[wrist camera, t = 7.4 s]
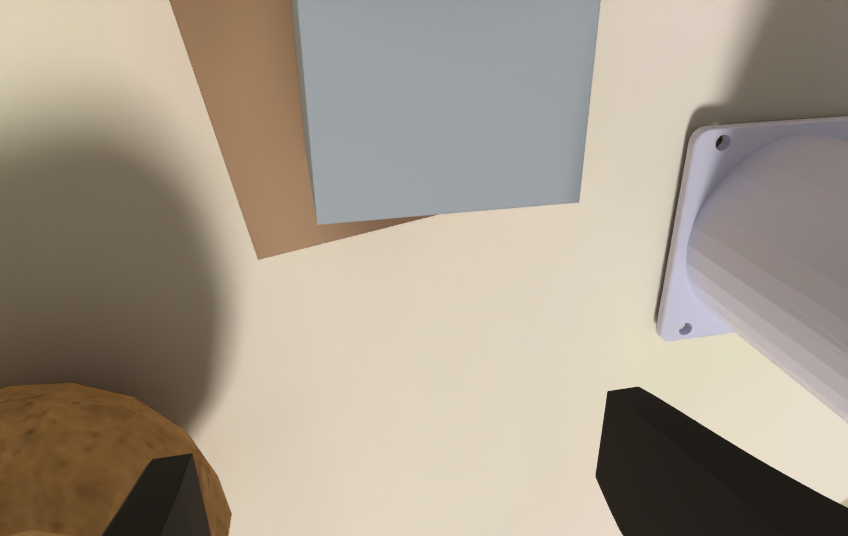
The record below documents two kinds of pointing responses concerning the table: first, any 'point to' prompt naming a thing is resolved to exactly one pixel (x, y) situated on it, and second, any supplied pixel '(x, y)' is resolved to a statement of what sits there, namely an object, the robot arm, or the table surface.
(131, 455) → the potato
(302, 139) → the walnut block
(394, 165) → the cube
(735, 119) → the table surface
